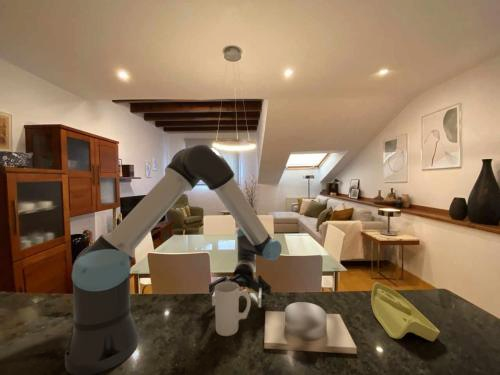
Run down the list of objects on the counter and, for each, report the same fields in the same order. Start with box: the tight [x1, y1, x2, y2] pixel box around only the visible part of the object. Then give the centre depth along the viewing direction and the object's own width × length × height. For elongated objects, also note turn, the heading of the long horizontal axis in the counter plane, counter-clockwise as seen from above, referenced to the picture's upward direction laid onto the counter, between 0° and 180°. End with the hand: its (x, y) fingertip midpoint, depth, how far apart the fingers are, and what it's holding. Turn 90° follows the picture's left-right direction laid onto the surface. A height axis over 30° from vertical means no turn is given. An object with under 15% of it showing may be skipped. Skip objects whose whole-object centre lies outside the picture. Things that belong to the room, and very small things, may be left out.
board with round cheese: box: [263, 301, 358, 355], centre depth 63 cm, size 22×14×6 cm, turn 85°
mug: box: [214, 282, 252, 337], centre depth 65 cm, size 10×7×12 cm, turn 95°
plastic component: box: [370, 281, 441, 342], centre depth 69 cm, size 20×7×10 cm
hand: (236, 301), depth 67 cm, fingers open, 13 cm apart
